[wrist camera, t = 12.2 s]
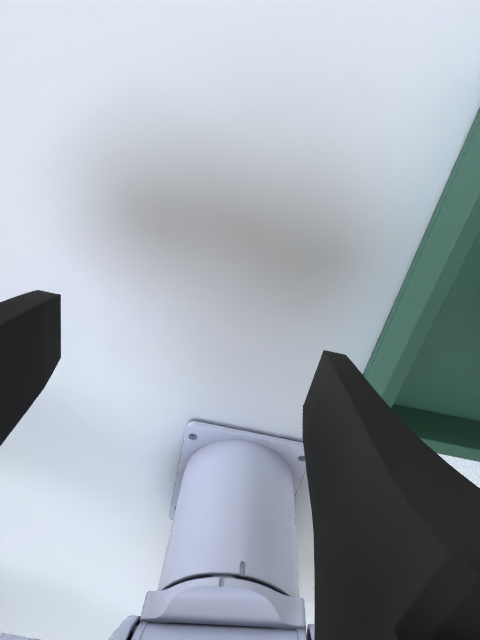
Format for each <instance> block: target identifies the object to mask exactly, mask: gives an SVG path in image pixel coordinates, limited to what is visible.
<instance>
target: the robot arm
mask: <svg viewBox="0 0 480 640" xmlns="http://www.w3.org/2000/svg"><path fill="white" fill-rule="evenodd" d="M60 358H61V295H59V294H54V293H49V292H45V291H40V290H36V291H32V292H29V293H26V294H22V295H20V296H17V297H14V298H11V299H8V300H6V301H3V302H0V446H1V444H2V443H3V442H4V440H5V439H6V438H7V437H8V435H9V434H10V433H11V431H12V430H13V429H14V427H15V426H16V425H17V423H18V422H19V421H20V419H21V418H22V417H23V415H24V414H25V413H26V412H27V410H28V409H29V408H30V406H31V405H32V404H33V402H34V401H35V399H36V398H37V397H38V395H39V394H40V393H41V391H42V390H43V389H44V387H45V385H46V384H47V382H48V380H49V378H50V377H51V375H52V373H53V371H54V369H55V367H56V365H57V364H58V362H59V360H60ZM191 434H195V435H191ZM300 456H304V457H300ZM305 470H307V478H308V486H309V493H310V501H311V509H312V518H313V530H314V566H315V624H308V627H307V636H306V622H305V607H304V599H303V598H300V597H299V579H298V561H297V543H296V524H295V506H294V497H295V495H296V492H297V490H298V487H299V485H300V483H301V480H302V478H303V475H304V473H305ZM169 517H170V518H171V519H172V520H173V524H172V528H171V533H170V537H169V542H168V546H167V551H166V555H165V560H164V564H163V569H162V573H161V578H160V582H159V587H158V591H148V592H147V593H146V597H145V601H144V606H143V610H142V614H141V616H136V615H132V616H129V617H127V618H126V619H125V620H124V621H123V622H122V623H121V625H120V626H119V628H118V629H117V630H116V631H115V632H114V633H113V634H112V635H111V637H110V638H109V640H480V488H478V487H477V486H476V485H475V484H473V483H472V482H471V481H469V480H468V479H467V478H466V477H464V476H463V475H462V474H460V473H459V472H458V471H457V470H455V469H454V468H453V467H452V466H451V465H449V464H448V463H447V462H446V461H445V460H443V459H442V458H441V457H440V456H439V455H438V454H437V453H436V452H434V451H433V450H432V449H431V448H430V447H429V446H428V445H427V444H426V443H424V442H423V441H422V440H421V439H420V438H419V437H418V436H417V435H416V434H415V433H414V432H413V431H412V430H411V429H410V428H409V427H408V426H407V425H406V424H405V423H404V422H403V421H402V420H401V419H400V418H399V416H398V415H397V414H396V413H395V412H394V411H393V410H392V409H391V408H390V407H389V405H388V404H387V403H386V402H385V401H384V400H383V399H382V397H381V396H380V395H379V394H378V393H377V392H376V390H375V389H374V388H373V387H372V386H371V384H370V383H369V382H368V381H367V380H366V378H365V377H364V376H363V375H362V373H361V372H360V371H359V370H358V369H357V367H356V366H355V365H354V364H353V363H352V361H351V360H350V359H349V358H348V357H347V356H346V355H344V354H339V353H334V352H330V351H325V350H324V351H323V354H322V356H321V359H320V362H319V364H318V367H317V370H316V373H315V375H314V378H313V381H312V384H311V386H310V389H309V392H308V395H307V397H306V400H305V403H304V405H303V443H302V442H297V441H292V440H287V439H282V438H277V437H272V436H267V435H262V434H257V433H252V432H247V431H242V430H237V429H232V428H227V427H222V426H217V425H212V424H207V423H202V422H197V421H192V422H189V423H188V425H187V428H186V432H185V438H184V443H183V448H182V453H181V458H180V463H179V468H178V474H177V479H176V484H175V489H174V494H173V499H172V504H171V509H170V515H169ZM0 640H39V639H33V638H27V637H21V636H15V635H10V634H4V633H0Z"/></svg>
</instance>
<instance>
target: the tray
mask: <svg viewBox="0 0 480 640" xmlns="http://www.w3.org/2000/svg"><path fill="white" fill-rule="evenodd" d="M363 376H364V377H365V378H366V380H367V381H368V382H369V383H370V384H371V386H372V387H373V388H374V389H375V390H376V392H377V393H378V394H379V395H380V396H381V397H382V399H383V400H384V401H385V402H386V403H387V404H388V405H389V407H390V408H391V409H392V410H393V411H394V412H395V413H396V414H397V415H398V416H399V418H400V419H401V420H402V421H403V422H404V423H405V424H406V425H407V426H408V427H409V428H410V429H411V430H412V431H413V432H414V433H415V434H416V435H417V436H418V437H419V438H420V439H421V440H422V441H423V442H424V443H426V444H427V445H428V446H429V447H430V448H431V449H432V450H433V451H434V452H436V453H439V454H444V455H449V456H454V457H459V458H464V459H469V460H474V461H479V462H480V109H479V112H478V114H477V116H476V118H475V121H474V123H473V125H472V128H471V130H470V132H469V134H468V137H467V139H466V141H465V144H464V146H463V148H462V150H461V153H460V155H459V157H458V160H457V162H456V164H455V167H454V169H453V171H452V173H451V176H450V178H449V180H448V183H447V185H446V187H445V189H444V192H443V194H442V196H441V199H440V201H439V203H438V205H437V208H436V210H435V212H434V215H433V217H432V219H431V221H430V224H429V226H428V228H427V231H426V233H425V235H424V237H423V240H422V242H421V244H420V247H419V249H418V251H417V253H416V256H415V258H414V260H413V263H412V265H411V267H410V269H409V272H408V274H407V276H406V279H405V281H404V283H403V286H402V288H401V290H400V292H399V295H398V297H397V299H396V302H395V304H394V306H393V308H392V311H391V313H390V315H389V318H388V320H387V322H386V324H385V327H384V329H383V331H382V334H381V336H380V338H379V340H378V343H377V345H376V347H375V350H374V352H373V354H372V356H371V359H370V361H369V363H368V366H367V368H366V370H365V372H364V375H363Z"/></svg>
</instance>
